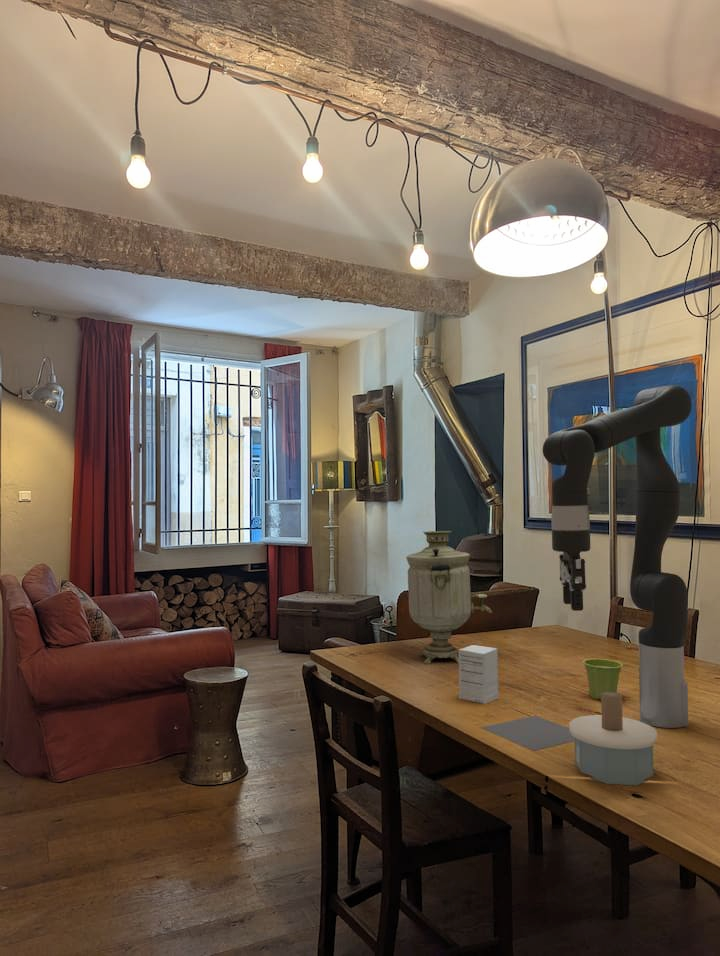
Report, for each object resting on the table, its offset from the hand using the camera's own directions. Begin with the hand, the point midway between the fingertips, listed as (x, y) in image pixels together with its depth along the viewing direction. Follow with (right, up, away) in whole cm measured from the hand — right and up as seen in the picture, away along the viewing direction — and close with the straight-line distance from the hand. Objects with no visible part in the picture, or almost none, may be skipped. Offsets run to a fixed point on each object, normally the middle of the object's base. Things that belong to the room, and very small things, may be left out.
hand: (572, 607), depth 139 cm
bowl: (+3, -27, -15) cm, 31 cm away
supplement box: (-14, -29, +30) cm, 44 cm away
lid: (+3, -21, -15) cm, 25 cm away
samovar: (-16, -31, +72) cm, 80 cm away
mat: (-7, -28, +4) cm, 29 cm away
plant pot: (+17, -29, +31) cm, 46 cm away
